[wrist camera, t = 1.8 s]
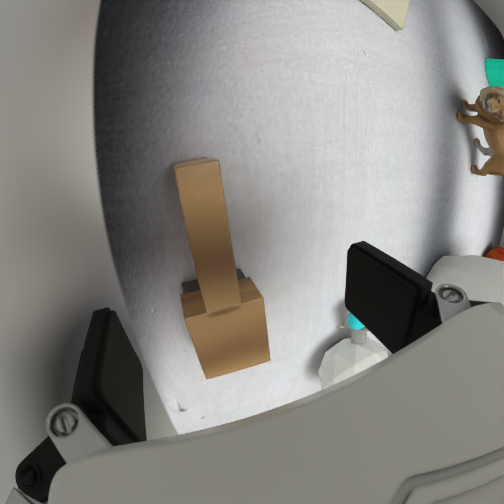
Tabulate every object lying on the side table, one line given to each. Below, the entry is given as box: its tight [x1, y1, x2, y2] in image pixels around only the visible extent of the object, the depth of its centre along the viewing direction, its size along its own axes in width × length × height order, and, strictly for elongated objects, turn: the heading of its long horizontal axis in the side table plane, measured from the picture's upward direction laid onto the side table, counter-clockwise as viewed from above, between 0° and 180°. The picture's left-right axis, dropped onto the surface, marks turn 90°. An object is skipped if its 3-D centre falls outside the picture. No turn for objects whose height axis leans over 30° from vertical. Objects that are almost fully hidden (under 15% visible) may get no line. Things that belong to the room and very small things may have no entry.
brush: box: [173, 157, 270, 379], centre depth 18 cm, size 14×5×5 cm, turn 7°
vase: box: [426, 255, 504, 305], centre depth 21 cm, size 14×14×25 cm
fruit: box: [484, 247, 504, 261], centre depth 33 cm, size 7×7×8 cm
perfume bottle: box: [318, 313, 388, 390], centre depth 25 cm, size 8×8×12 cm
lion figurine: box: [457, 86, 504, 176], centre depth 20 cm, size 15×5×9 cm, turn 48°
